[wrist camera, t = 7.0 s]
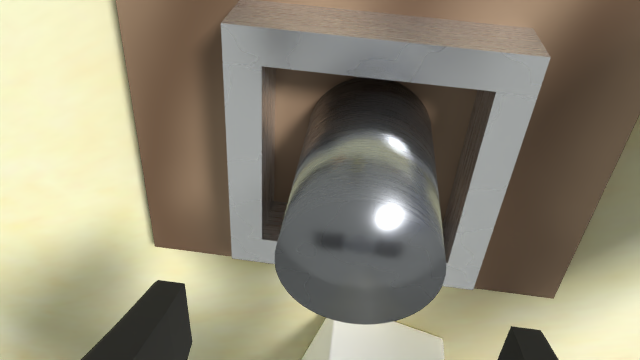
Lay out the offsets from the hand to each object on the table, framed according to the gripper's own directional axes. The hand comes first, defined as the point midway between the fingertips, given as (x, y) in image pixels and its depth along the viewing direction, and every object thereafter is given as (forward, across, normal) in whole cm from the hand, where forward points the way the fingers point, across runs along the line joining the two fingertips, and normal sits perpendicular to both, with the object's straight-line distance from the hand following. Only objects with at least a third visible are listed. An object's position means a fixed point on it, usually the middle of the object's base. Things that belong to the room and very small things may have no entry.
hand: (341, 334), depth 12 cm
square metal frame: (+9, 0, 0) cm, 9 cm away
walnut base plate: (+10, 0, 0) cm, 10 cm away
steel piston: (+9, 0, 0) cm, 9 cm away
